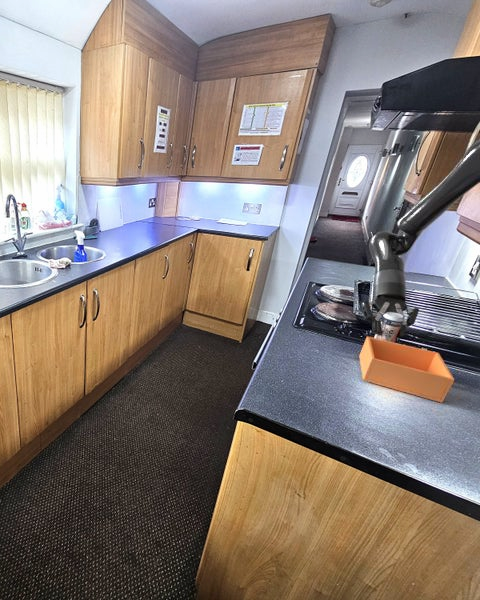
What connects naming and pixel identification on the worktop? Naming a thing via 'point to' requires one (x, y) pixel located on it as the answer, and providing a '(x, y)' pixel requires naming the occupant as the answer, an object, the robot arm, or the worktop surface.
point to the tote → (405, 369)
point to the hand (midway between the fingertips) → (388, 335)
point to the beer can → (390, 326)
